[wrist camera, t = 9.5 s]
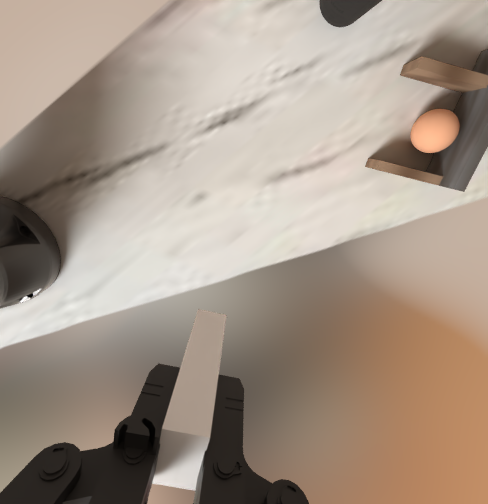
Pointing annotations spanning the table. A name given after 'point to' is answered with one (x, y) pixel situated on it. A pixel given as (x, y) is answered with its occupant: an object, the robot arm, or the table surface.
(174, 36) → the table surface
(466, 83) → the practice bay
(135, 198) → the table surface
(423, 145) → the ball
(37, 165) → the table surface
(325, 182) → the table surface
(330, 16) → the drinking cup
